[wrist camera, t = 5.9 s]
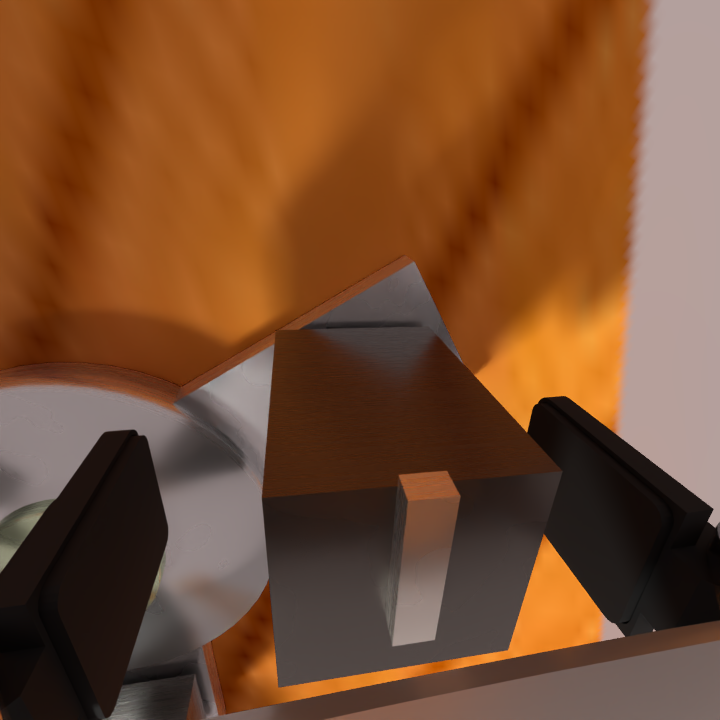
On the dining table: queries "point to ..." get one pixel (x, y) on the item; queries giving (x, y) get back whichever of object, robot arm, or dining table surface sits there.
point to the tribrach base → (181, 467)
